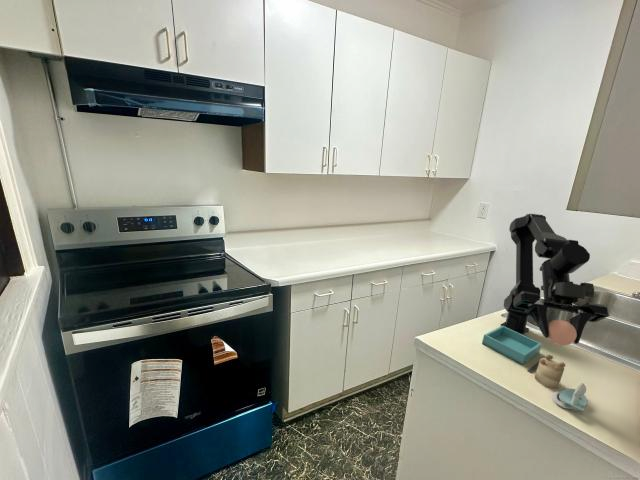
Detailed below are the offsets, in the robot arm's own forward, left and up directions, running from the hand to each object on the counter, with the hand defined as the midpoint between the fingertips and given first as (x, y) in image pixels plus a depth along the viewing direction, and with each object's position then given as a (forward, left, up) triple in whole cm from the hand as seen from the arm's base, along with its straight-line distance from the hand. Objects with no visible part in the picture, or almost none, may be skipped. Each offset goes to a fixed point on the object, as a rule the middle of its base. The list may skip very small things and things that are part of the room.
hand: (561, 340), depth 76 cm
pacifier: (+3, +5, -13) cm, 14 cm away
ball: (-1, -1, +1) cm, 2 cm away
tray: (-8, -13, -12) cm, 19 cm away
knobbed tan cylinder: (-1, -1, -12) cm, 12 cm away
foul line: (-8, -5, -12) cm, 16 cm away
